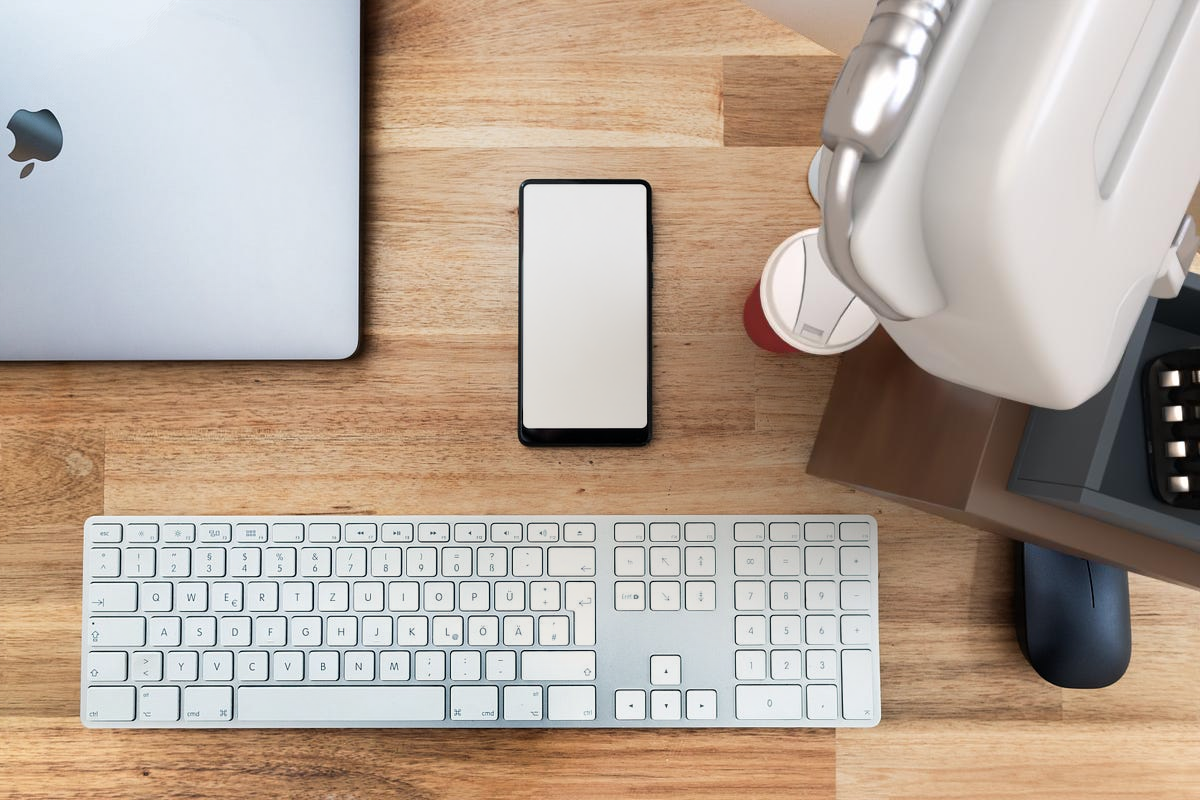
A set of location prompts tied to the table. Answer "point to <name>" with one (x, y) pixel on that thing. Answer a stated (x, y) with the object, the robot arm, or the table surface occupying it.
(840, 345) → the paper cup
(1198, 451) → the battery charger
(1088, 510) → the bin
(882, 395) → the stand
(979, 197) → the robot arm
